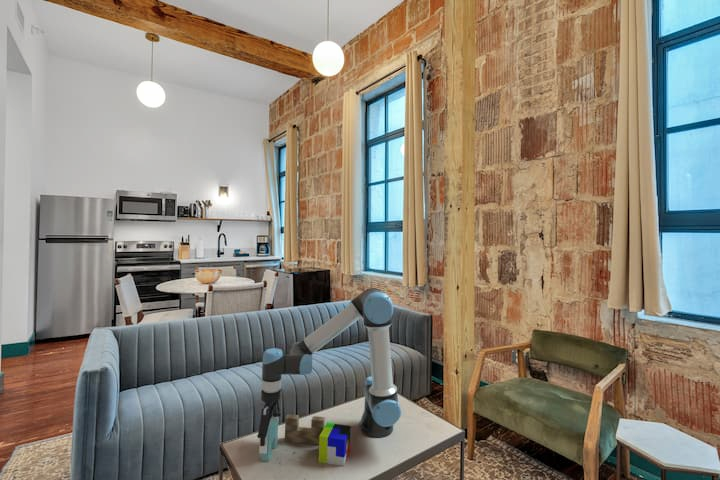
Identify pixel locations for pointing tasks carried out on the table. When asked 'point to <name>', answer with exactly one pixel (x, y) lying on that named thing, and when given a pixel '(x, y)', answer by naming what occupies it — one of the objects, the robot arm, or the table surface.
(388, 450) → the table surface
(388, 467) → the table surface
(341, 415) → the table surface
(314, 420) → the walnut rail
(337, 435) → the puzzle toy
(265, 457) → the notched teal block
